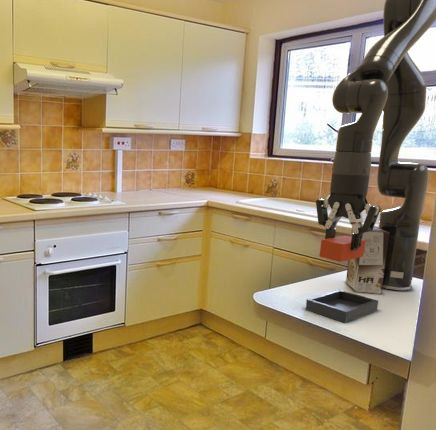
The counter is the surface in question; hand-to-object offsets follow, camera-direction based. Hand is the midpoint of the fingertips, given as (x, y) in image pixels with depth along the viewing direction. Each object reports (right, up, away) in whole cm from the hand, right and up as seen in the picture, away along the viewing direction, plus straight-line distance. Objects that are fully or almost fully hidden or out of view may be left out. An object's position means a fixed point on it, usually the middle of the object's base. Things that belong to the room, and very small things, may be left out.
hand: (341, 246), depth 104 cm
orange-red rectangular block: (0, -2, +1) cm, 2 cm away
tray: (0, -14, 0) cm, 14 cm away
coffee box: (+14, -12, +17) cm, 25 cm away
